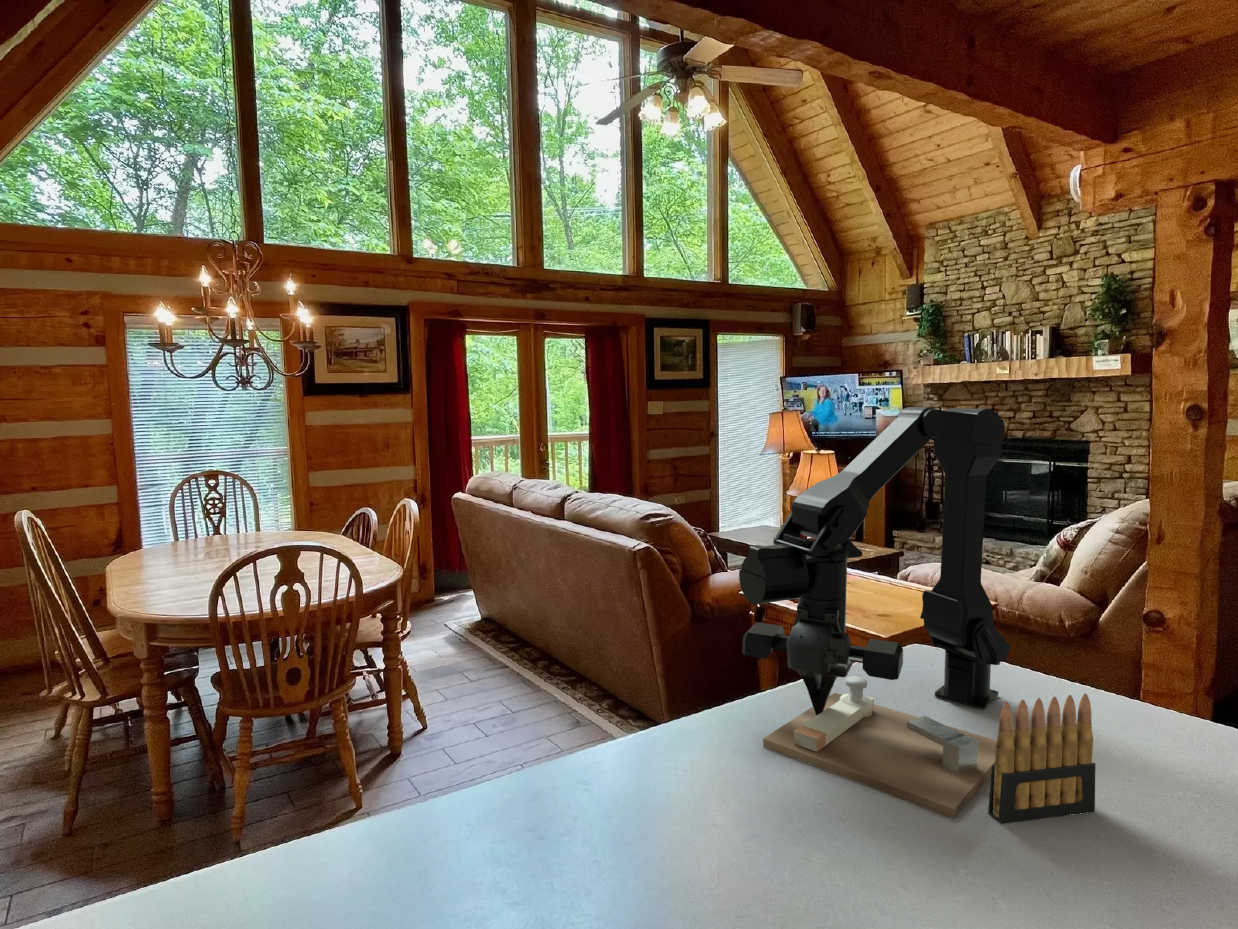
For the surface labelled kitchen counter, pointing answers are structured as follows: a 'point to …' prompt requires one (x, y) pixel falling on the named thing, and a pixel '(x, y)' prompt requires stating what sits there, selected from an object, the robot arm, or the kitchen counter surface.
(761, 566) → the robot arm
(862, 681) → the bar
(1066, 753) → the ammunition clip
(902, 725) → the base plate
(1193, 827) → the kitchen counter surface
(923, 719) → the block
